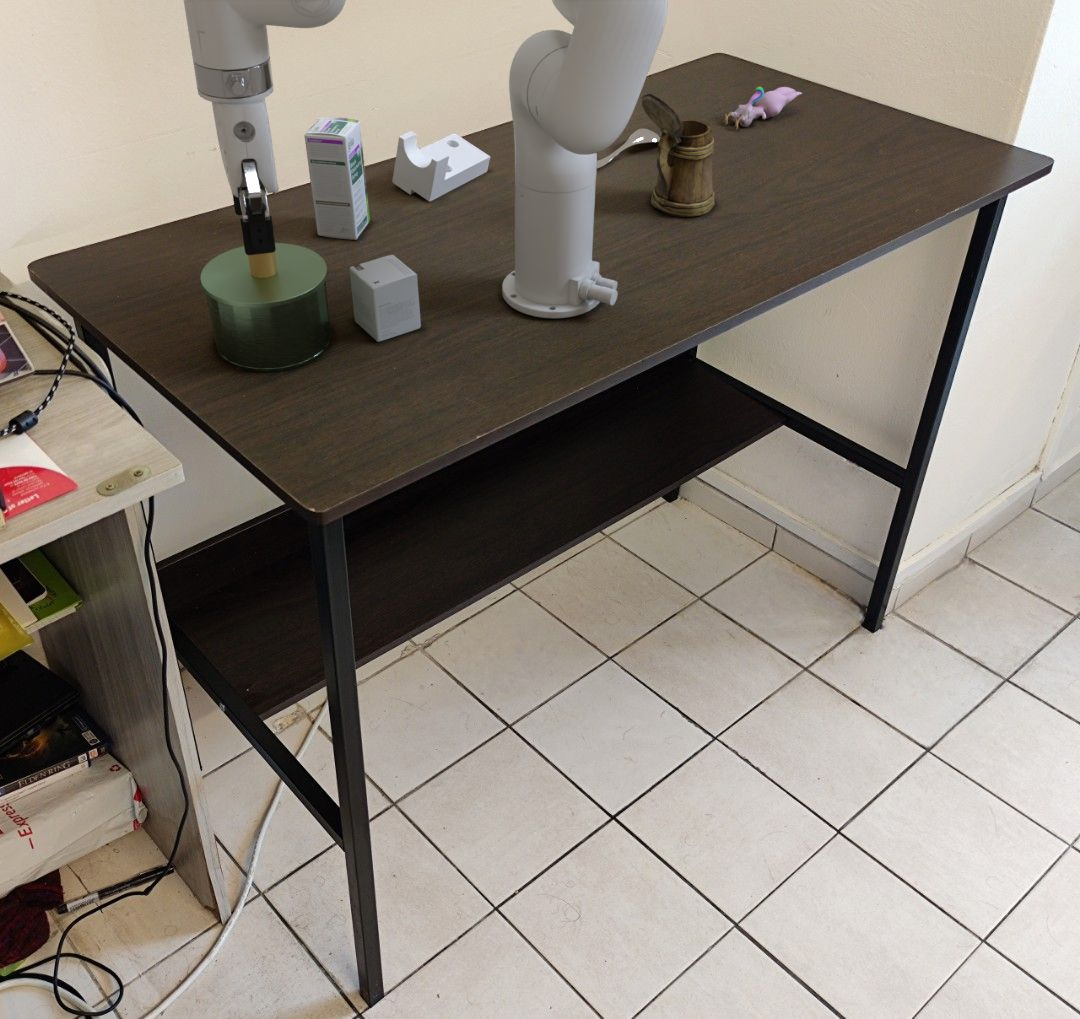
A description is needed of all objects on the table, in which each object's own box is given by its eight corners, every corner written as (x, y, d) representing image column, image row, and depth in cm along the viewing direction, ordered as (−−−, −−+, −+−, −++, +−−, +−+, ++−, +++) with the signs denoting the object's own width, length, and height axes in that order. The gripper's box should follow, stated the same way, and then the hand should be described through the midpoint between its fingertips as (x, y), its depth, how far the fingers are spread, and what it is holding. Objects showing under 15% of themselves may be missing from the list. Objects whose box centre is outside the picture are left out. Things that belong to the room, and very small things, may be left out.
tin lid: (353, 272, 136) (348, 222, 132) (272, 325, 127) (264, 273, 123) (259, 241, 142) (252, 192, 138) (175, 290, 132) (165, 240, 128)
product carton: (422, 328, 142) (418, 273, 137) (377, 343, 139) (372, 287, 134) (397, 307, 146) (393, 252, 141) (353, 321, 143) (347, 266, 138)
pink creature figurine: (743, 142, 190) (811, 107, 195) (743, 107, 185) (813, 72, 190) (717, 129, 193) (784, 95, 199) (716, 94, 189) (785, 61, 194)
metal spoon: (574, 156, 171) (553, 145, 174) (572, 180, 174) (551, 169, 176) (671, 131, 182) (650, 121, 185) (668, 153, 184) (647, 144, 187)
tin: (354, 332, 141) (347, 267, 136) (281, 384, 132) (271, 318, 127) (268, 301, 146) (259, 238, 141) (192, 350, 137) (179, 285, 132)
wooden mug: (616, 212, 167) (623, 84, 155) (679, 184, 174) (691, 60, 162) (663, 234, 162) (674, 103, 150) (726, 204, 169) (742, 78, 157)
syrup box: (357, 241, 159) (347, 136, 150) (315, 236, 160) (303, 131, 150) (370, 222, 163) (362, 118, 154) (329, 217, 164) (318, 114, 155)
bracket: (428, 207, 169) (436, 161, 163) (392, 182, 171) (399, 136, 165) (485, 177, 177) (495, 132, 171) (450, 153, 179) (458, 108, 173)
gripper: (283, 104, 114) (301, 265, 125) (261, 45, 127) (279, 195, 137) (203, 111, 112) (228, 273, 123) (189, 50, 125) (212, 202, 136)
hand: (255, 232), depth 130 cm, fingers open, 9 cm apart
